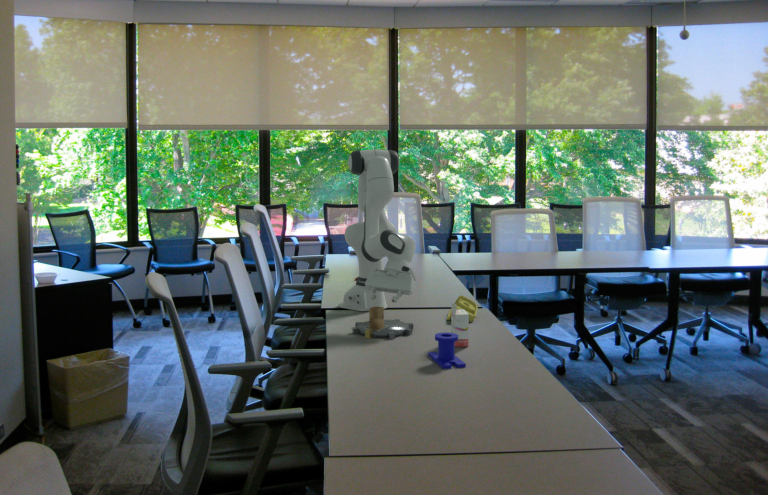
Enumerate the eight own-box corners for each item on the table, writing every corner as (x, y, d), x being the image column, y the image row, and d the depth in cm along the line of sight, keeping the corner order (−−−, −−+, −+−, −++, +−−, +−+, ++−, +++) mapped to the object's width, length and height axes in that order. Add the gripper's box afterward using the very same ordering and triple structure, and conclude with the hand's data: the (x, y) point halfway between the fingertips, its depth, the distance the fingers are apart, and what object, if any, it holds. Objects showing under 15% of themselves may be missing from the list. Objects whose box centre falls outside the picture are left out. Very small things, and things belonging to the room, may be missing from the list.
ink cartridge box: (469, 347, 217) (469, 305, 215) (455, 347, 216) (455, 306, 214) (463, 340, 225) (464, 300, 223) (450, 340, 225) (450, 301, 223)
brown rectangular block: (369, 329, 234) (369, 308, 233) (374, 326, 237) (374, 306, 236) (378, 330, 232) (378, 309, 231) (383, 327, 235) (383, 307, 234)
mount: (428, 355, 207) (428, 330, 206) (449, 354, 209) (449, 328, 208) (443, 369, 193) (443, 342, 191) (465, 367, 194) (466, 340, 193)
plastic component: (475, 317, 251) (453, 306, 252) (467, 332, 253) (445, 321, 254) (478, 303, 270) (457, 293, 271) (470, 317, 272) (450, 307, 273)
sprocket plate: (340, 334, 234) (340, 326, 234) (371, 320, 255) (371, 313, 255) (395, 342, 223) (395, 334, 222) (424, 327, 244) (424, 320, 243)
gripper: (369, 264, 249) (357, 292, 242) (415, 269, 239) (403, 298, 232) (375, 273, 253) (362, 301, 246) (420, 278, 243) (408, 307, 236)
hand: (383, 300), depth 239 cm, fingers open, 8 cm apart
